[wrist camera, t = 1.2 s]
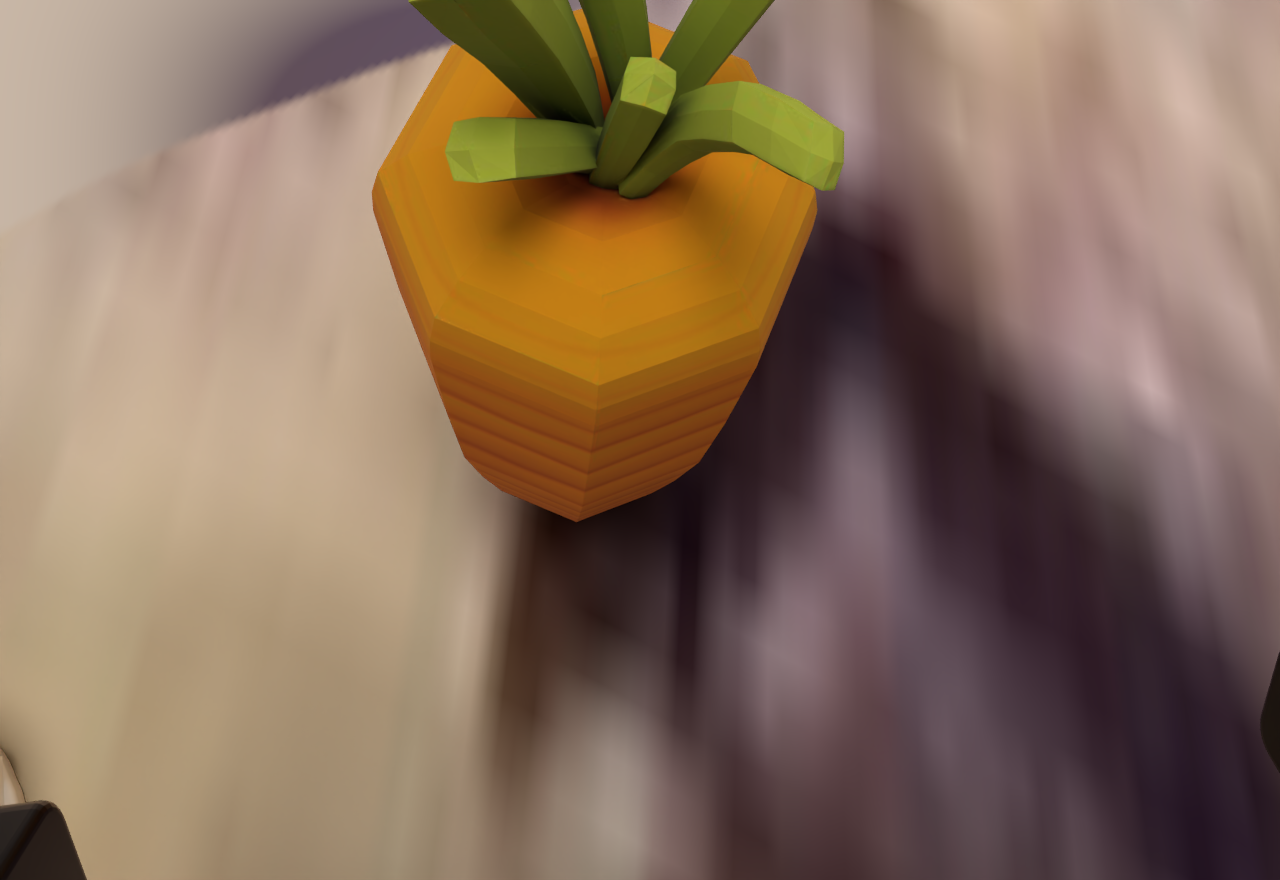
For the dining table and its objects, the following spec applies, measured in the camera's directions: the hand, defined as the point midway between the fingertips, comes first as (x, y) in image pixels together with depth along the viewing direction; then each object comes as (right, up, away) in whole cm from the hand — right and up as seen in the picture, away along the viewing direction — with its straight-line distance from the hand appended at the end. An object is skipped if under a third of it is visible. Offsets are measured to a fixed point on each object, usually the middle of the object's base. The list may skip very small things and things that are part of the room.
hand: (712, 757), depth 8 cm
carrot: (-2, +2, +14) cm, 14 cm away
